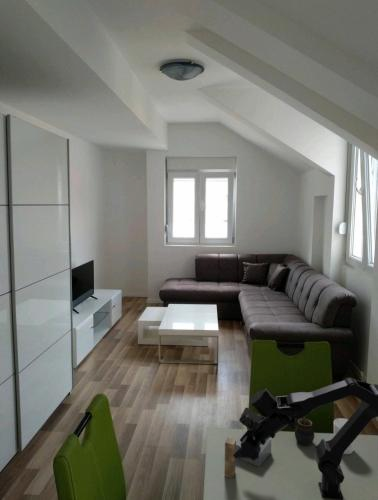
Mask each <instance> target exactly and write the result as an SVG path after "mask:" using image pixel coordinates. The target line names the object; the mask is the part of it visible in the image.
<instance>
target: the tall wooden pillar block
mask: <svg viewBox="0 0 378 500" xmlns="http://www.w3.org/2000/svg"><path fill="white" fill-rule="evenodd" d="M236 442H237V439H234V438H231V437H227V438H226V440H225V442H224V474H223V475H224V477H227V478H230V479H234V477H235V475H236V465H237V462H236V461H237V458H235V457H234V456H233V454H234V453H235V452H236Z"/></svg>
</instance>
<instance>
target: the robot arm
mask: <svg viewBox="0 0 378 500" xmlns="http://www.w3.org/2000/svg"><path fill="white" fill-rule="evenodd" d="M352 396H353V397H355V398H358V399H359V400H360V403H359V406H358V407H357V408H356V410H355V411H354V412H353V414H351V416H350V417H349V418H347V419H348V421H347V422H346V423H345V424H344V425H343V427H342V428H341V429H340V430H339V431H338V432H337V434H336V435H335V436H334V435H333V437H332V438H330V439H329V440H326V439H324V438H321V440H320V442H319V443H318V444H317V445H315V446H314V447H315V450H314V457H315V462H316V464H317V468H318V470H319V472H320V473H321V481H319V482H317V483H318V484H317V485H318V487H319V491H320V496H321V497H322V498H324V499H336V500H344V495H343V492H342V489H341V486H342V485H341V484H343V481H344V480H345V475H344V472H343V470H342V468H341V463H342V460H343V455H344V454H343V453H344V452H345V450H346V449H347V448H348V447H349V446H350V445H351V443H352V442H353V441H354V440H356V439H357V437H359V435H360V434H361V433H362V432H363V431H364V430H365V428H366V427H367V426H368V425H369V424H370V422H371V421H372V420H373V419H376V418H378V384H371V383H369V382H366V381H362V380H357V379H356V378H353V377H347V378H345V379H343V380H342V381H338V382H336V383H332V384H329V385H327V386H324V387H321V388H319V389H316V390H315V389H314V390H312V391H310V392H308V391H307V392H306V391H300V392H299V391H298V392H291V393H289V394H288V395H277V396H275V397H274V396H273V394H272V393H271V392H270V391H269V390H268V388H264V389H261V390H259V391H256V392H255V393H254V394H253V395H252V396H251V398H250V400H249V403H250V404H251V406H253V408H255V410H257V412H258V413H256V412H255V411H254V410H252V409H250V408H249V407H245V408H244V409H243V412H242V413H241V415H240V417H239V419H238V421H239V422H240V423H241V425H243V426H244V427H246V428H248V429H247V430H246V432H245V433H243V434H242V436H241V437H242V438H241V437H240V438H241V439H240V438H239V439H240V441H241V447H240V448H239V449H238V450H237V451H236V452H235V453H234V454H233V456H234V457H235V458H236V459H239V458H251V459H252V460H253V461H255V460H257V459H258V458H259V456H260V453H261V447H260V446H259V442H261V444H262V445H264V444H265V443H266V440H267V439H269V440H270V439H274V438H275V437H276V434H277V433H279V432H280V431H282V430H284V429H285V428H286V427H289V428H290V429H291V430H292V431H295V430H296V427H295V425H296V422H297V421H298V420H299V419H304V417H306V416H308V415H310V414H311V413H312V412H313V411H315V409H317V408H319V407H322V406H325V405H328V404H331V403H334V402H337V401H340V400H343V399H346V398H349V397H352ZM296 420H297V421H296Z"/></svg>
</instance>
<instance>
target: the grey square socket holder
mask: <svg viewBox="0 0 378 500" xmlns="http://www.w3.org/2000/svg"><path fill="white" fill-rule="evenodd" d="M241 438H242V436H241V437H239V438H238V440H236V451H237V450H238V449H239V448H240V447H241V441H240V439H241ZM259 446H260V447H261V453H260V456H259V458H258V459H257V460H255V461H253V460H252V459H251V458H238V459H239V460H242V461H244V462H246V463H249V464H252V465H253V466H256V467H258V468H260V467H261V465H262V464H263V463H264V461H266V459H267V458H268V457H269V456H270V454H271V453H272V440H271V439H270V438H269V439H267V440H266V443H265V444H264V445H262V444H261V442H259Z"/></svg>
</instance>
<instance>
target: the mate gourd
mask: <svg viewBox="0 0 378 500" xmlns="http://www.w3.org/2000/svg"><path fill="white" fill-rule="evenodd" d="M296 422H297V424H296V427H295V430H294V438H295V439H296V441H297V442H298V443H299V444H301V445H304V446H308V445H310V444H312V443H313V442H314V440H315V431H314V428H313V427H314V425H313V422H312V421H311V420H310V419H307V418H306V416H305V417H303V418H301V419H297V421H296Z"/></svg>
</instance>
